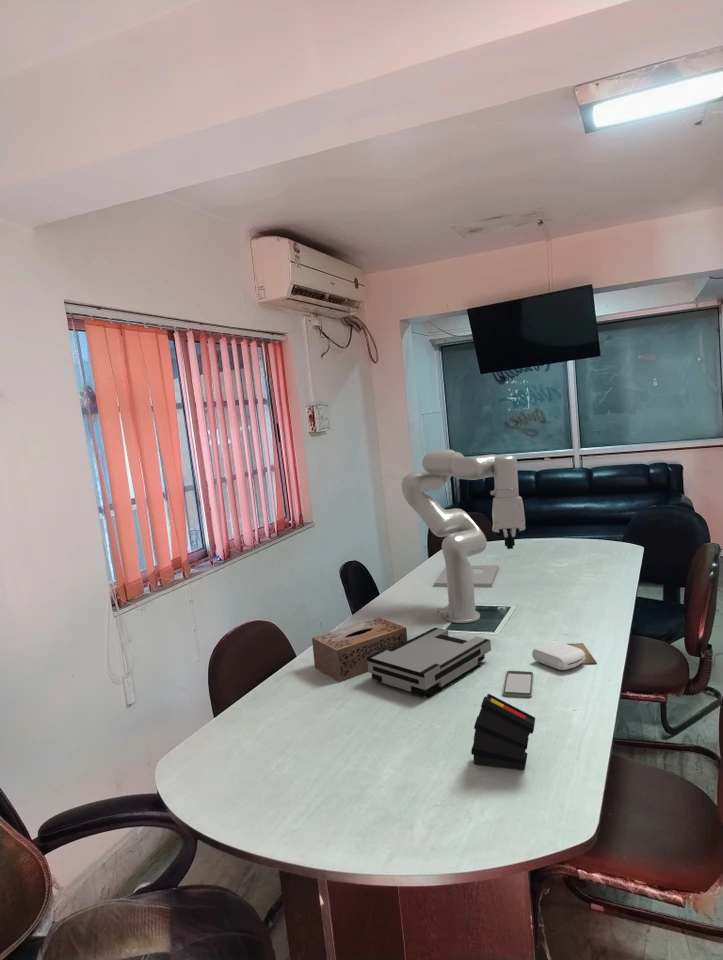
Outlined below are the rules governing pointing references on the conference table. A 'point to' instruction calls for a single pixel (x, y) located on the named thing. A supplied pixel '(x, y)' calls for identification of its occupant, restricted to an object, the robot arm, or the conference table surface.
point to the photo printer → (558, 655)
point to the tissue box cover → (355, 647)
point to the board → (588, 656)
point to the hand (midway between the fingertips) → (509, 548)
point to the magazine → (501, 735)
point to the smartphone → (518, 684)
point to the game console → (428, 662)
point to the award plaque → (474, 576)
